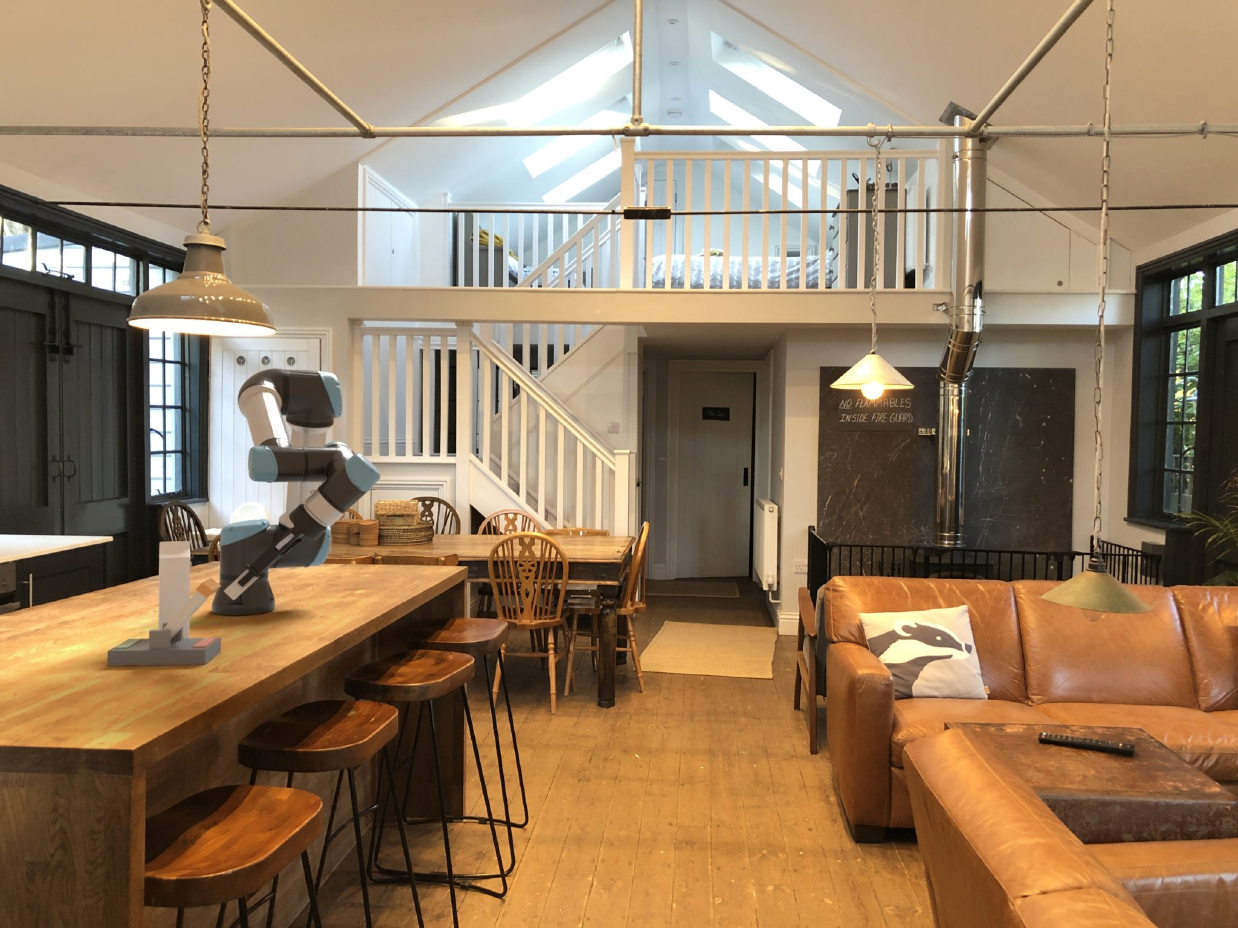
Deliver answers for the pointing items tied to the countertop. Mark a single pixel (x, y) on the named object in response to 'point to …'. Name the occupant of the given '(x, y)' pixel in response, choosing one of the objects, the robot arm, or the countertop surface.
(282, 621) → the countertop surface
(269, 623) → the countertop surface
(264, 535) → the robot arm
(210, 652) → the switch plate
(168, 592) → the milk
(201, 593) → the handle
